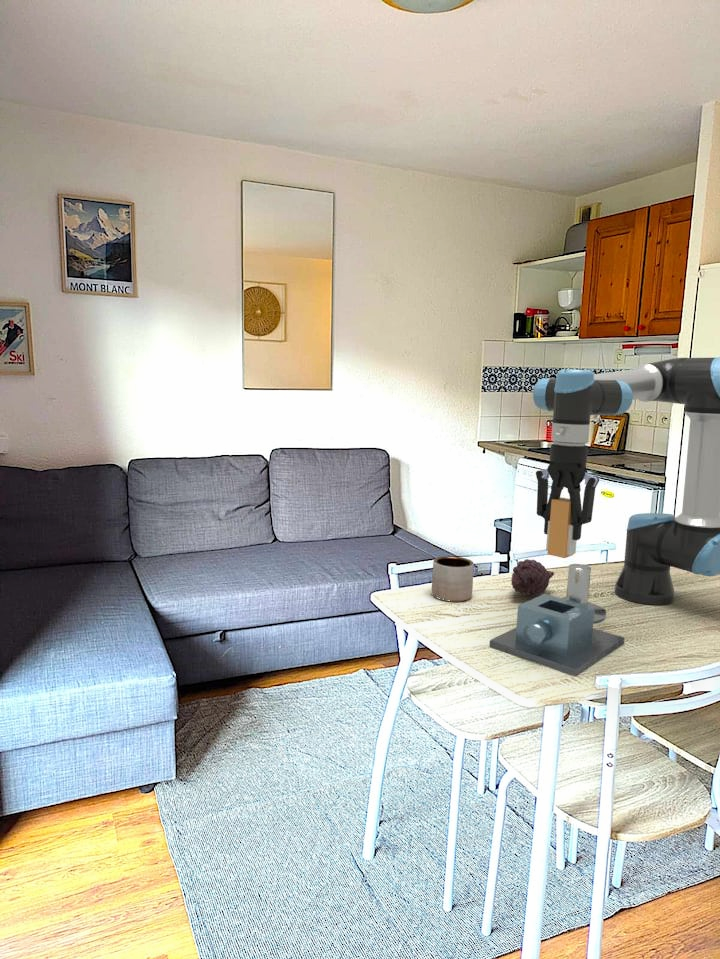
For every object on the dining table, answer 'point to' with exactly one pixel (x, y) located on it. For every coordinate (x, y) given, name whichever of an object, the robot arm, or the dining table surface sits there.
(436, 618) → the dining table surface
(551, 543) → the orange rectangular block
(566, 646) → the grey square hole fixture
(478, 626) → the dining table surface
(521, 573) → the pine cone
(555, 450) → the robot arm
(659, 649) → the dining table surface
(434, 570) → the planter
